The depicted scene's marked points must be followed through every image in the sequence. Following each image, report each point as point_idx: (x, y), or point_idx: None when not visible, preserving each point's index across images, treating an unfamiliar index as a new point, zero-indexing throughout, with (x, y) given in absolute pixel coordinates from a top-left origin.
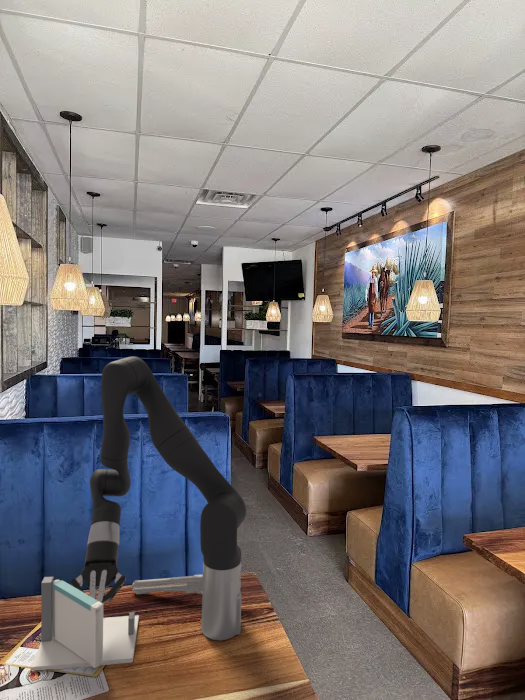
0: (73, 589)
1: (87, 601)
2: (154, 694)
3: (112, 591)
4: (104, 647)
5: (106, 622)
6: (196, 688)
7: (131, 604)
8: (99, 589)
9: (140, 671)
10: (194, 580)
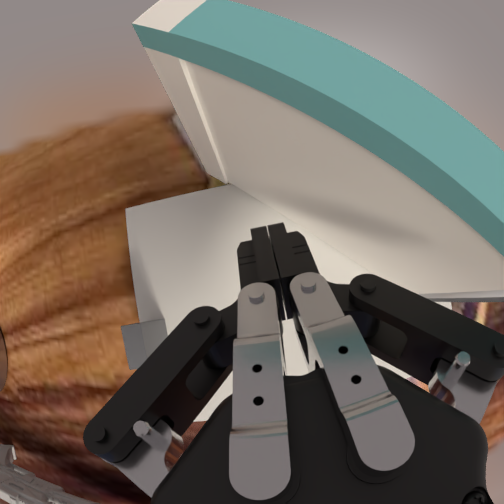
0: (454, 156)
1: (252, 19)
2: (76, 127)
3: (173, 349)
4: (227, 249)
5: None
6: (12, 160)
7: None
8: (272, 335)
9: (107, 183)
10: (18, 492)
